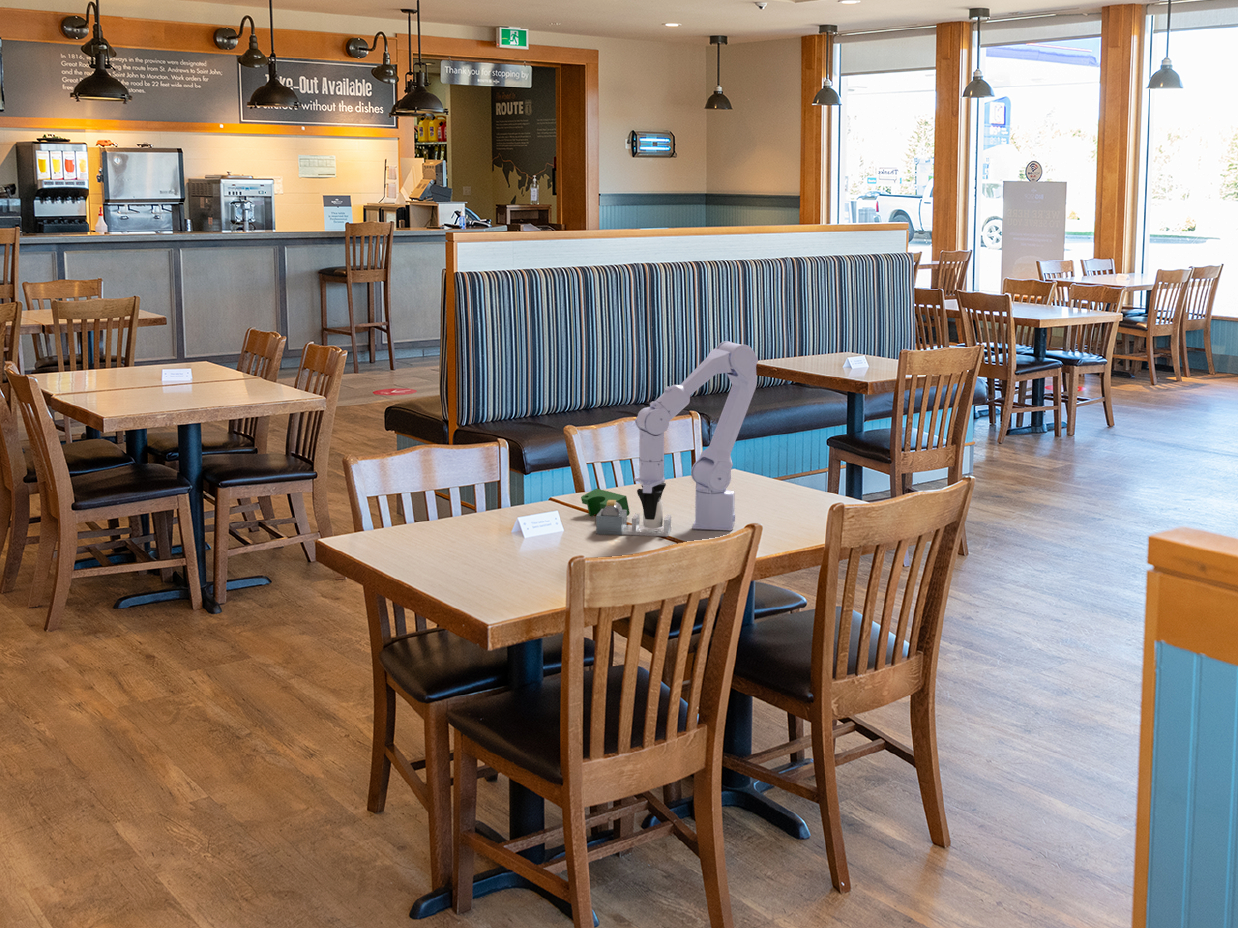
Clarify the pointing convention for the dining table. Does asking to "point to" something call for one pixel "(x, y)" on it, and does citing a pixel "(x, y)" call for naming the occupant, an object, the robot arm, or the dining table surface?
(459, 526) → the dining table surface
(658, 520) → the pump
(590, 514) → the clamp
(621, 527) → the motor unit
